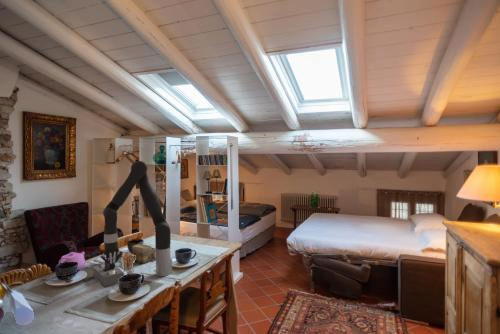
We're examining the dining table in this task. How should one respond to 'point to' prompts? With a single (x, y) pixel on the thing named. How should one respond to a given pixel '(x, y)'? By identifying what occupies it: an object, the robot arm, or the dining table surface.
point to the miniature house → (144, 253)
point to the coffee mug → (107, 257)
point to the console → (107, 276)
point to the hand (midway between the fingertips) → (112, 268)
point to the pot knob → (107, 266)
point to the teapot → (74, 259)
